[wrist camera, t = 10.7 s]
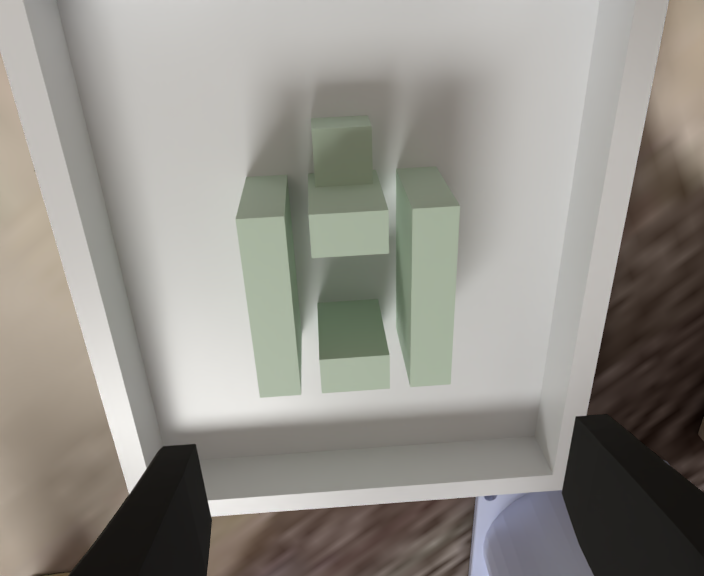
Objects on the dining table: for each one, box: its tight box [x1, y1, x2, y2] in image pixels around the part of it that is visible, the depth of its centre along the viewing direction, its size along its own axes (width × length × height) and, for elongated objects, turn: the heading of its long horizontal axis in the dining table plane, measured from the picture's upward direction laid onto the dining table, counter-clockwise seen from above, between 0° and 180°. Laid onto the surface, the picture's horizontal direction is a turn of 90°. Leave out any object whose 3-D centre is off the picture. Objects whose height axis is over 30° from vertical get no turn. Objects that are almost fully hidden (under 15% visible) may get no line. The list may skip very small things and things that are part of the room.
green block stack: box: [235, 115, 460, 398], centre depth 18 cm, size 7×6×3 cm
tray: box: [0, 0, 669, 516], centre depth 19 cm, size 18×16×2 cm
